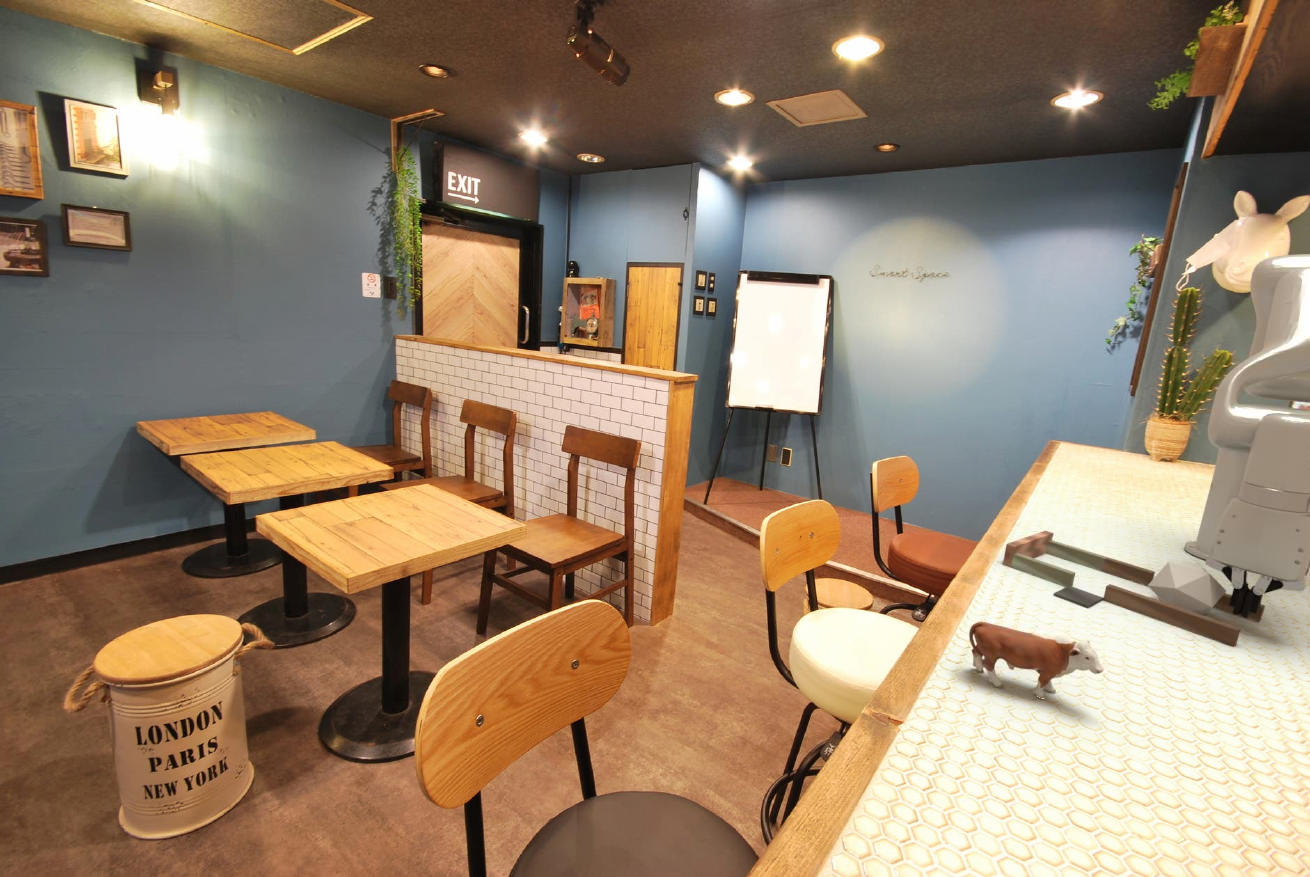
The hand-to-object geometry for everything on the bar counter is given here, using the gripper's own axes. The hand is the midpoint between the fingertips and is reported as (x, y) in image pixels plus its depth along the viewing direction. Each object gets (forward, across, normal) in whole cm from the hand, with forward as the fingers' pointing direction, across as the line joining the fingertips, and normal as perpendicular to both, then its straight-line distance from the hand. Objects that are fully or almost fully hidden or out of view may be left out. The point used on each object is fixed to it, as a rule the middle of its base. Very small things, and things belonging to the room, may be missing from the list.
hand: (1241, 613), depth 89 cm
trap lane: (+3, +15, 0) cm, 15 cm away
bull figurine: (+3, +10, +47) cm, 48 cm away
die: (+3, +7, 0) cm, 7 cm away
